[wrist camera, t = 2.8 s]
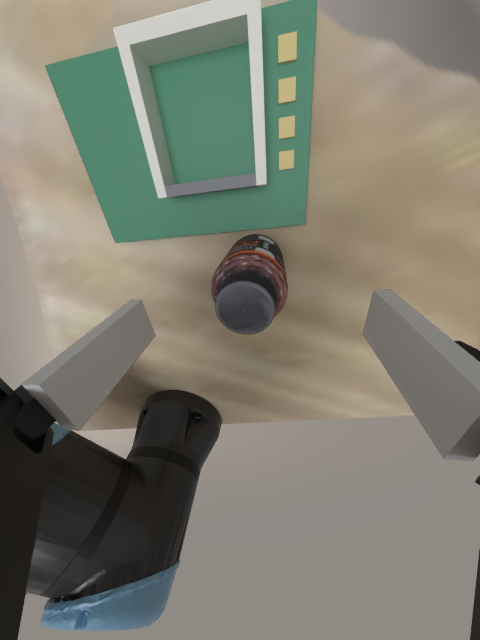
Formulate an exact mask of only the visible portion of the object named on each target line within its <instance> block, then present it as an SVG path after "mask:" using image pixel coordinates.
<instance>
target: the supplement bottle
mask: <svg viewBox="0 0 480 640" xmlns="http://www.w3.org/2000/svg"><path fill="white" fill-rule="evenodd" d="M211 287H212V296H213V300H214V302H215V310H216V314H217V317H218V318H219V320H220V321H221V323H222V324H223V325H224V326H225V327H227V328H228V329H229V330H231V331H234V332H236V333H240V334H255V333H258V332H260V331H263V330H264V329H265V328H266V327H268V326H269V325H270V323H271V322H272V320H273V318H274V317H275V316H276V315H277V314H278V313H279V312H280V311H281V309H282V308H283V306H284V304H285V301H286V298H287V292H288V286H287V279H286V273H285V268H284V262H283V257H282V253H281V251H280V249H279V247H278V246H277V244H276V243H275V242H274V241H273V240H271V239H270V238H268V237H266V236H262V235H249V236H246V237H244V238H242V239H240V240H239V241H237V243H235V245H234V246H233V247H232V249H231V250H230V251H229V253H228V254H227V256H226V257H225V258H224V260H223V261H222V262H221V264H220V266H219V267H218V268H217V270H216V272H215V274H214V276H213V279H212V285H211Z"/></svg>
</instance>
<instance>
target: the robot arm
mask: <svg viewBox="0 0 480 640" xmlns="http://www.w3.org/2000/svg"><path fill="white" fill-rule="evenodd" d="M363 335H364V337H365V338H366V340H367V341H368V343H369V344H370V346H371V347H372V349H373V351H374V352H375V354H376V355H377V357H378V358H379V360H380V361H381V363H382V364H383V366H384V368H385V369H386V371H387V372H388V374H389V375H390V377H391V378H392V380H393V381H394V383H395V385H396V386H397V388H398V389H399V391H400V392H401V394H402V395H403V397H404V399H405V400H406V402H407V403H408V405H409V406H410V408H411V409H412V411H413V412H414V414H415V416H416V417H417V419H418V420H419V422H420V423H421V425H422V426H423V428H424V429H425V431H426V433H427V434H428V435H429V437H430V439H431V440H432V442H433V443H434V445H435V446H436V448H437V450H438V451H439V453H440V454H441V456H442V457H443V459H451V460H462V461H473V460H474V459H475V458H476V457H477V456H478V455H479V454H480V351H479V350H477V349H475V348H473V347H471V346H469V345H467V344H465V343H463V342H461V341H453V340H452V339H451V338H450V337H448V336H447V335H446V334H445V333H443V332H442V331H441V330H440V329H438V328H437V327H436V326H435V325H434V324H432V323H431V322H430V321H429V320H427V319H426V318H425V317H424V316H423V315H421V314H420V313H419V312H418V311H416V310H415V309H414V308H413V307H411V306H410V305H409V304H408V303H407V302H405V301H404V300H403V299H402V298H400V297H399V296H398V295H397V294H396V293H394V292H393V291H392V290H391V289H383V290H374V291H373V295H372V299H371V303H370V306H369V310H368V314H367V318H366V322H365V326H364V330H363ZM155 336H156V335H155V333H154V330H153V328H152V325H151V323H150V320H149V317H148V315H147V312H146V310H145V307H144V305H143V302H142V300H130V301H129V302H128V303H126V304H125V305H124V306H122V307H121V308H120V309H118V310H117V311H116V312H115V313H113V314H112V315H111V316H109V317H108V318H107V319H105V320H104V321H103V322H102V323H100V324H99V325H98V326H96V327H95V328H94V329H92V330H91V331H90V332H89V333H87V334H86V335H85V336H83V337H82V338H81V339H79V340H78V341H77V342H75V343H74V344H73V345H72V346H70V347H69V348H68V349H66V350H65V351H64V352H62V353H61V354H60V355H59V356H57V357H56V358H55V359H53V360H52V361H51V362H49V363H48V364H47V365H46V366H44V367H43V368H42V369H40V370H39V371H38V372H37V373H35V374H34V375H32V376H31V377H30V378H29V379H27V380H26V381H25V382H23V383H22V384H21V386H20V387H19V388H17V389H16V390H14V391H13V390H12V389H11V388H10V387H9V386H8V385H7V384H6V383H5V382H4V381H3V380H2V379H1V378H0V640H17V638H18V633H19V627H20V622H21V616H22V610H23V605H24V599H25V595H26V594H27V593H30V594H35V595H40V596H44V597H48V598H50V599H49V600H48V601H47V603H46V605H45V607H44V613H43V615H42V618H41V624H42V625H43V626H45V627H49V628H54V629H65V630H88V631H103V630H104V631H105V630H107V631H108V630H128V629H138V628H143V627H147V626H149V625H151V624H152V623H154V622H155V621H156V620H157V619H158V618H159V617H160V615H161V614H162V612H163V611H164V609H165V606H166V604H167V601H168V596H169V594H170V590H171V587H172V584H173V580H174V577H175V574H176V570H177V568H178V566H179V563H180V559H179V557H180V554H181V549H182V545H183V541H184V537H185V533H186V529H187V525H188V520H189V516H190V512H191V508H192V504H193V500H194V495H195V491H196V487H197V483H198V478H199V475H200V471H201V468H202V466H203V464H204V462H205V460H206V459H207V457H208V455H209V453H210V451H211V450H212V448H213V446H214V444H215V442H216V441H217V438H218V436H219V432H220V427H221V418H220V415H219V413H218V412H217V410H216V409H215V408H214V407H213V406H212V405H211V404H210V403H208V402H207V401H205V400H204V399H202V398H200V397H198V396H195V395H193V394H190V393H186V392H181V391H162V392H158V393H156V394H154V395H152V396H151V397H149V398H148V400H147V401H146V403H145V405H144V407H143V408H142V410H141V413H140V416H139V421H138V425H137V430H136V434H135V439H134V443H133V447H132V449H131V451H130V453H129V455H128V457H127V459H124V458H122V457H120V456H118V455H116V454H115V453H113V452H111V451H109V450H107V449H105V448H103V447H101V446H99V445H98V444H96V443H94V442H92V441H90V440H88V439H86V438H84V437H82V436H80V435H79V434H77V433H75V432H73V431H71V430H79V431H80V430H81V428H82V427H83V426H84V425H85V423H86V422H87V421H88V420H89V418H90V417H91V416H92V415H93V413H94V412H95V411H96V410H97V408H98V407H99V406H100V405H101V403H102V402H103V401H104V400H105V398H106V397H107V396H108V395H109V393H110V392H111V391H112V390H113V388H114V387H115V386H116V385H117V384H118V382H119V381H120V380H121V379H122V377H123V376H124V375H125V374H126V372H127V371H128V370H129V369H130V367H131V366H132V365H133V364H134V362H135V361H136V360H137V359H138V357H139V356H140V355H141V354H142V352H143V351H144V350H145V349H146V347H147V346H148V345H149V344H150V342H151V341H152V340H153V339H154V337H155ZM55 421H57V422H58V423H59V424H56V423H54V422H55ZM475 482H476V483H477V484H479V485H480V476H479V477H478V478H477V479H476V481H475ZM470 640H480V551H479V560H478V570H477V579H476V589H475V598H474V607H473V618H472V626H471V636H470Z"/></svg>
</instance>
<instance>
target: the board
mask: <svg viewBox="0 0 480 640" xmlns="http://www.w3.org/2000/svg"><path fill="white" fill-rule="evenodd" d="M316 12H317V0H292V1H288V2H284V3H280V4H277V5H273V6H269V7H265V8H262V9H261V0H211V1H207V2H204V3H200V4H197V5H193V6H190V7H186V8H182V9H179V10H175V11H172V12H168V13H165V14H161V15H157V16H154V17H150V18H147V19H143V20H140V21H136V22H133V23H129V24H125V25H122V26H118V27H115V28H113V31H114V34H115V38H116V42H117V46H118V47H114V48H110V49H106V50H102V51H99V52H95V53H91V54H87V55H83V56H80V57H76V58H72V59H68V60H64V61H61V62H57V63H53V64H49V65H46V66H45V67H46V70H47V72H48V75H49V77H50V80H51V82H52V85H53V87H54V90H55V92H56V95H57V98H58V100H59V103H60V105H61V108H62V110H63V113H64V115H65V118H66V120H67V123H68V125H69V128H70V130H71V133H72V135H73V138H74V140H75V143H76V145H77V148H78V150H79V153H80V155H81V158H82V161H83V163H84V166H85V168H86V171H87V173H88V176H89V178H90V181H91V183H92V186H93V188H94V191H95V193H96V196H97V198H98V201H99V203H100V206H101V208H102V211H103V213H104V216H105V219H106V221H107V224H108V226H109V229H110V231H111V234H112V236H113V239H114V241H115V243H120V242H130V241H140V240H150V239H161V238H171V237H181V236H191V235H202V234H212V233H222V232H232V231H242V230H253V229H263V228H273V227H283V226H293V225H304V224H305V220H306V201H307V182H308V163H309V144H310V125H311V106H312V87H313V68H314V49H315V30H316Z"/></svg>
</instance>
